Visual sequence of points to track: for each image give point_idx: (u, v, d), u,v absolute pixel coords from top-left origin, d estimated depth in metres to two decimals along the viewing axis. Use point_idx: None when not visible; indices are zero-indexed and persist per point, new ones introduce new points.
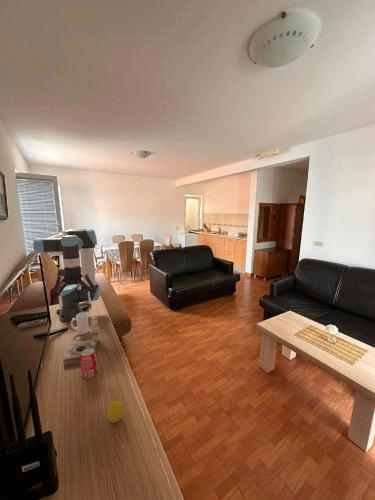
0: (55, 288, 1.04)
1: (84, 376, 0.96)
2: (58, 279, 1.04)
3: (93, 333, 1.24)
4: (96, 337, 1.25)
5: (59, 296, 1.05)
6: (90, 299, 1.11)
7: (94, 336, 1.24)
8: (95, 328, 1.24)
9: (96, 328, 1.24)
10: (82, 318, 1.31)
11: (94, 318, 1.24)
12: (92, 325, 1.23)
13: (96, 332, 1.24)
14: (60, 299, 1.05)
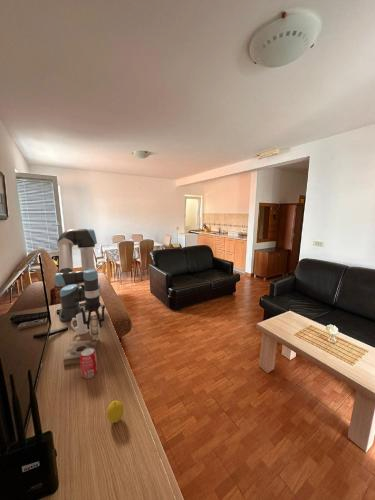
0: (83, 318, 1.21)
1: (84, 376, 0.96)
2: (81, 310, 1.20)
3: (93, 333, 1.24)
4: (96, 337, 1.25)
5: (89, 325, 1.23)
6: (99, 328, 1.26)
7: (94, 336, 1.24)
8: (95, 328, 1.24)
9: (96, 328, 1.24)
10: (82, 318, 1.31)
11: (94, 318, 1.24)
12: (92, 325, 1.23)
13: (96, 332, 1.24)
14: (90, 327, 1.23)
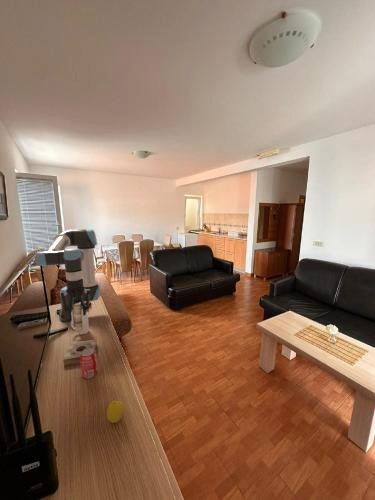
0: (64, 304, 1.06)
1: (84, 376, 0.96)
2: (62, 295, 1.05)
3: (76, 321, 1.08)
4: (79, 326, 1.09)
5: (72, 312, 1.07)
6: (83, 316, 1.10)
7: (77, 325, 1.09)
8: (78, 316, 1.08)
9: (79, 316, 1.08)
10: None
11: (77, 304, 1.09)
12: (75, 312, 1.07)
13: (79, 320, 1.09)
14: (73, 315, 1.08)
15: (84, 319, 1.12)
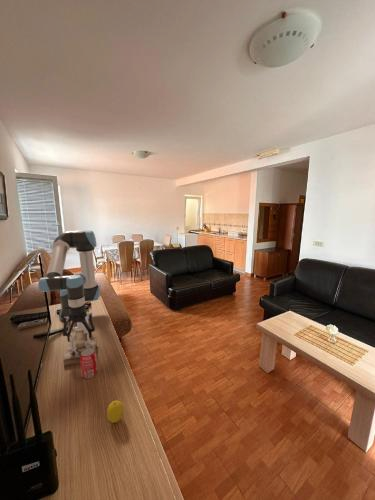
0: (64, 329, 1.08)
1: (84, 376, 0.96)
2: (64, 320, 1.07)
3: (78, 347, 1.11)
4: None
5: (70, 337, 1.09)
6: (89, 339, 1.13)
7: (79, 350, 1.11)
8: (80, 341, 1.11)
9: (82, 341, 1.11)
10: None
11: (79, 330, 1.11)
12: (77, 338, 1.10)
13: (82, 346, 1.11)
14: (71, 339, 1.09)
15: None
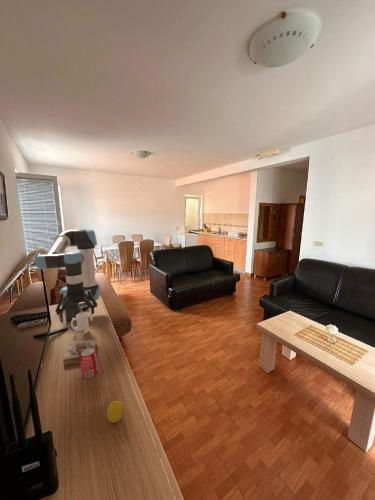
0: (58, 305, 1.05)
1: (84, 376, 0.96)
2: (61, 296, 1.05)
3: (78, 347, 1.11)
4: None
5: (63, 313, 1.06)
6: (91, 315, 1.12)
7: (79, 350, 1.11)
8: (80, 341, 1.11)
9: (82, 341, 1.11)
10: (82, 318, 1.31)
11: (79, 330, 1.11)
12: (77, 338, 1.10)
13: (82, 346, 1.11)
14: (64, 316, 1.06)
15: (92, 318, 1.13)
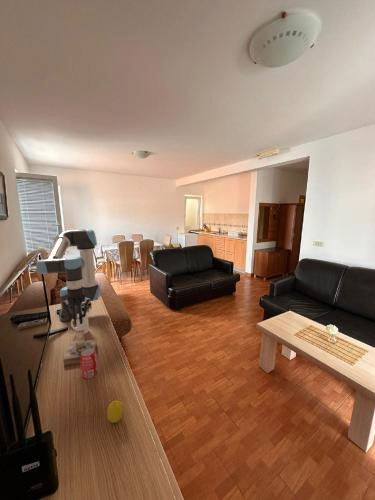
0: (68, 312, 1.07)
1: (84, 376, 0.96)
2: (64, 304, 1.06)
3: (78, 347, 1.11)
4: None
5: (77, 319, 1.09)
6: (80, 325, 1.10)
7: (79, 350, 1.11)
8: (80, 341, 1.11)
9: (82, 341, 1.11)
10: None
11: None
12: (77, 338, 1.10)
13: (82, 346, 1.11)
14: (78, 322, 1.09)
15: None
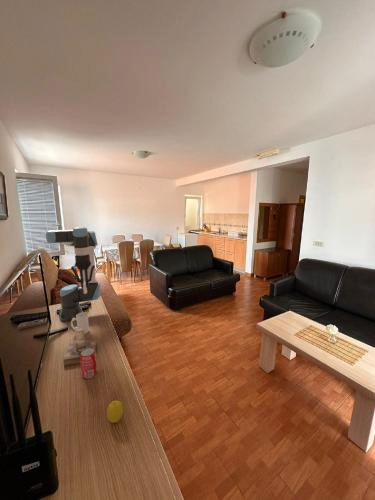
0: (76, 276, 1.21)
1: (84, 376, 0.96)
2: (72, 269, 1.20)
3: (78, 347, 1.11)
4: None
5: (83, 283, 1.23)
6: (86, 288, 1.25)
7: (79, 350, 1.11)
8: (80, 341, 1.10)
9: (82, 341, 1.11)
10: (82, 318, 1.31)
11: (79, 330, 1.11)
12: (77, 338, 1.10)
13: (82, 346, 1.11)
14: (84, 286, 1.23)
15: (87, 291, 1.26)
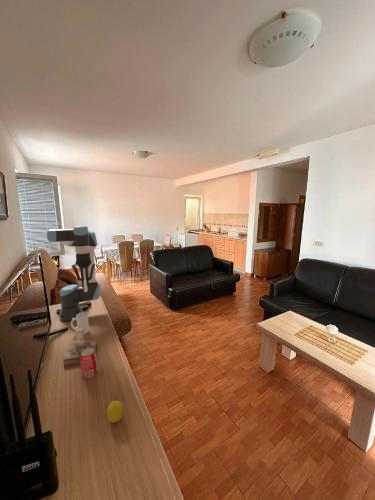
0: (77, 274, 1.22)
1: (84, 376, 0.96)
2: (73, 267, 1.21)
3: (78, 347, 1.11)
4: None
5: (84, 281, 1.24)
6: (86, 287, 1.25)
7: (79, 350, 1.11)
8: (80, 341, 1.10)
9: (82, 341, 1.11)
10: (82, 318, 1.31)
11: (79, 330, 1.11)
12: (77, 338, 1.10)
13: (82, 346, 1.11)
14: (85, 284, 1.24)
15: (87, 290, 1.27)
